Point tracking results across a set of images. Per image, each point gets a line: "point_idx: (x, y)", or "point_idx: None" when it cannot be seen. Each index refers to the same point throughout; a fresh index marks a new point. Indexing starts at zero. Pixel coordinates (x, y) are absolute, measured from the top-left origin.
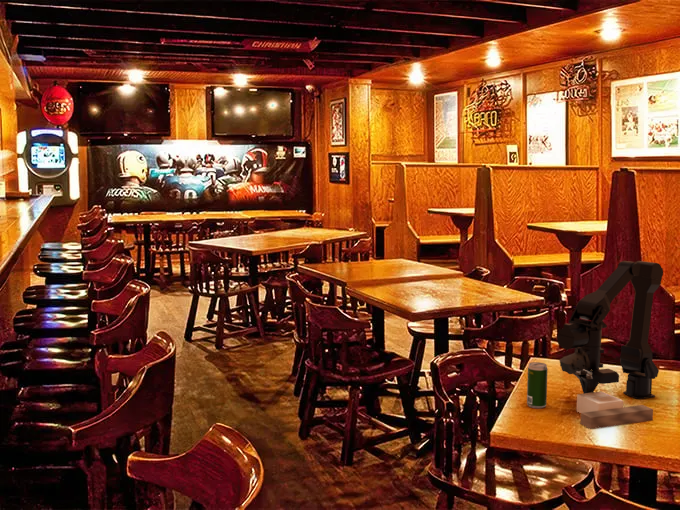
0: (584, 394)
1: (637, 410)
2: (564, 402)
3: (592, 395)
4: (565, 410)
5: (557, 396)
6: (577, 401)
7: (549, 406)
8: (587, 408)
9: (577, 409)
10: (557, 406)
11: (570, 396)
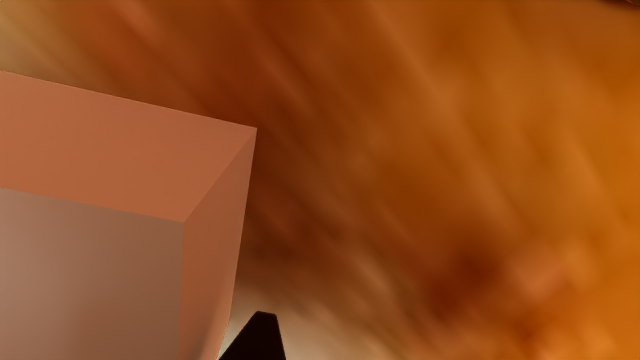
0: (117, 302)
1: None
2: (487, 235)
3: (31, 349)
4: (341, 60)
5: (604, 297)
6: (214, 163)
7: (541, 18)
8: (7, 104)
9: (239, 133)
10: (474, 96)
11: (524, 354)
